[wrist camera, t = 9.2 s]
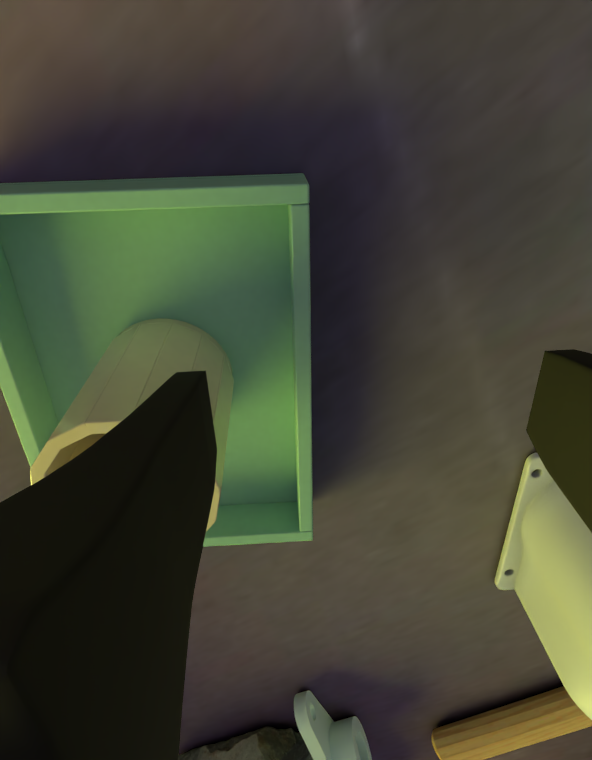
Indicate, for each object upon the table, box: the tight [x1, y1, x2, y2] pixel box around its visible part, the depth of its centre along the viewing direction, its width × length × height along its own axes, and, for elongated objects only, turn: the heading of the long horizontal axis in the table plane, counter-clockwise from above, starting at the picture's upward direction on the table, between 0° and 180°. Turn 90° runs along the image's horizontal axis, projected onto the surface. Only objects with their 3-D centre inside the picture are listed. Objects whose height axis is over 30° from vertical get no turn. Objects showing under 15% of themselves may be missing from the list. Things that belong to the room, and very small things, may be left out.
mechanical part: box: [294, 690, 372, 760], centre depth 33 cm, size 8×2×4 cm, turn 23°
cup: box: [30, 318, 234, 532], centre depth 17 cm, size 5×5×7 cm
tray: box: [0, 173, 313, 547], centre depth 19 cm, size 15×11×2 cm
